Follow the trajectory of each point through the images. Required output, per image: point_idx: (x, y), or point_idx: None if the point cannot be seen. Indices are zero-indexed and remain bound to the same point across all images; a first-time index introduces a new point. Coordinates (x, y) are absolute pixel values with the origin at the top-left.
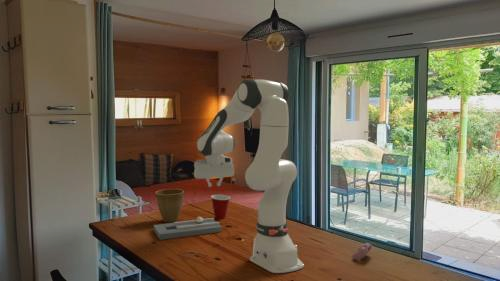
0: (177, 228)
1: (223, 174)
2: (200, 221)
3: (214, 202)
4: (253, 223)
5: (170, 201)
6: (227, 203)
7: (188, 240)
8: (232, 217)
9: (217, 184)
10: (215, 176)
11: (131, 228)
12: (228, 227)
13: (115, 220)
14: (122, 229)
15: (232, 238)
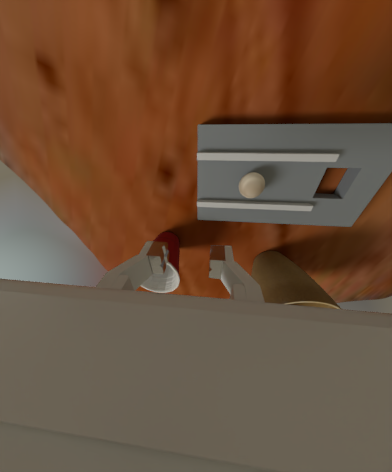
0: (325, 169)
1: (60, 310)
2: (254, 172)
3: (175, 262)
4: (98, 167)
5: (308, 284)
6: None
7: (342, 66)
8: (143, 231)
9: (165, 256)
10: (171, 302)
11: (368, 249)
12: (169, 160)
13: (348, 295)
14: (388, 250)
15: (190, 3)
